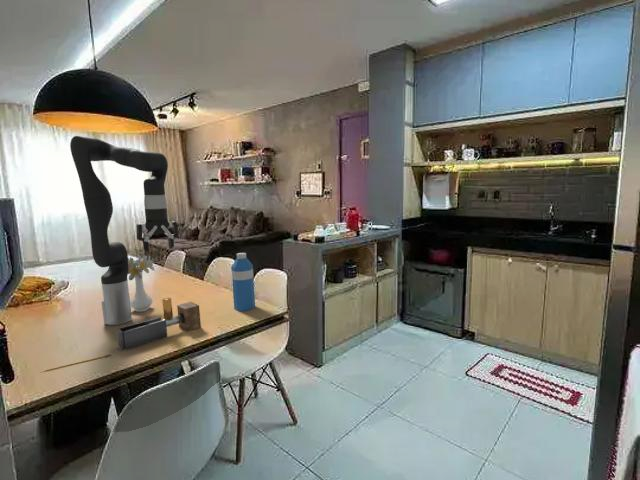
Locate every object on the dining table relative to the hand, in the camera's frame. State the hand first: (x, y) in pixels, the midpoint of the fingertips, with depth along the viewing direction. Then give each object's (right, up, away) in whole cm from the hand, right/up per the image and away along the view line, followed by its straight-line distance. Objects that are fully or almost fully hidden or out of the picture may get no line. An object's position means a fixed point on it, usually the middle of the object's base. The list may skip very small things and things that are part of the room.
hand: (159, 249), depth 131 cm
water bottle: (+27, -27, +25) cm, 46 cm away
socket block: (+10, -31, +4) cm, 32 cm away
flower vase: (-20, -28, +27) cm, 44 cm away
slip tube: (+5, -29, -1) cm, 29 cm away
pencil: (-15, -36, -22) cm, 45 cm away
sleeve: (-2, -33, -8) cm, 34 cm away
